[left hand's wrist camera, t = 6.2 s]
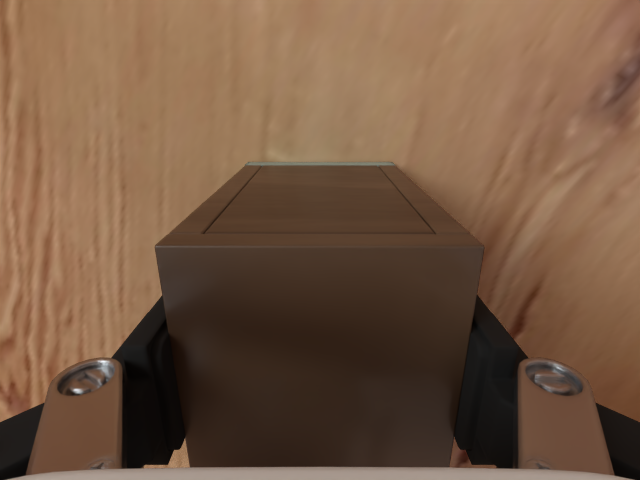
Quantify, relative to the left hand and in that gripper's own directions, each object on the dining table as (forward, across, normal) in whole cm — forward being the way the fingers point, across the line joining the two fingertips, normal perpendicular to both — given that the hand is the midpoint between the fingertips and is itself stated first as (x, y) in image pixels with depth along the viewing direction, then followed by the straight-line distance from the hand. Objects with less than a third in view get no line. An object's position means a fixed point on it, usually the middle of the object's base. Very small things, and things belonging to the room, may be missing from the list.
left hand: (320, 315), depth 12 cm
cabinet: (+7, 0, -5) cm, 9 cm away
